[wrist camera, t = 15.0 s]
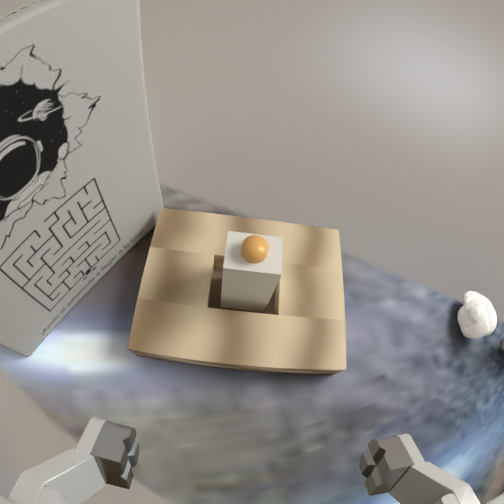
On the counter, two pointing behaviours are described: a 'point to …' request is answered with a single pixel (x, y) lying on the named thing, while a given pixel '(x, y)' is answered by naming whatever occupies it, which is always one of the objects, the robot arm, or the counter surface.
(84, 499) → the robot arm
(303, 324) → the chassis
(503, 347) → the lighter
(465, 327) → the dumpling
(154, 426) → the counter surface
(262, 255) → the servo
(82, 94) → the cereal box
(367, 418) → the counter surface
